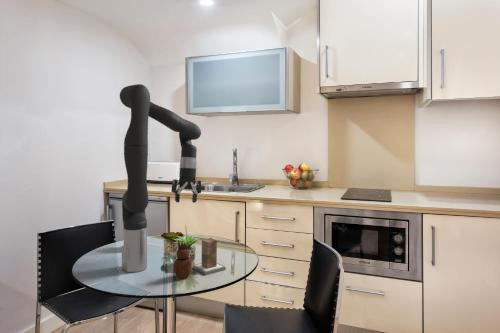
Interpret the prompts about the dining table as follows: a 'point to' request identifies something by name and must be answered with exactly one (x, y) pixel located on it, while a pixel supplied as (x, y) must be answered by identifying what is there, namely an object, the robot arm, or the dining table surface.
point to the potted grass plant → (182, 262)
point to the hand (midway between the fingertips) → (185, 202)
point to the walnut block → (209, 253)
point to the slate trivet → (209, 269)
